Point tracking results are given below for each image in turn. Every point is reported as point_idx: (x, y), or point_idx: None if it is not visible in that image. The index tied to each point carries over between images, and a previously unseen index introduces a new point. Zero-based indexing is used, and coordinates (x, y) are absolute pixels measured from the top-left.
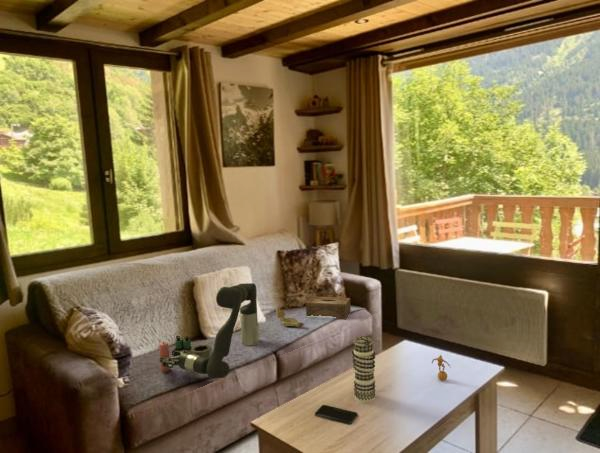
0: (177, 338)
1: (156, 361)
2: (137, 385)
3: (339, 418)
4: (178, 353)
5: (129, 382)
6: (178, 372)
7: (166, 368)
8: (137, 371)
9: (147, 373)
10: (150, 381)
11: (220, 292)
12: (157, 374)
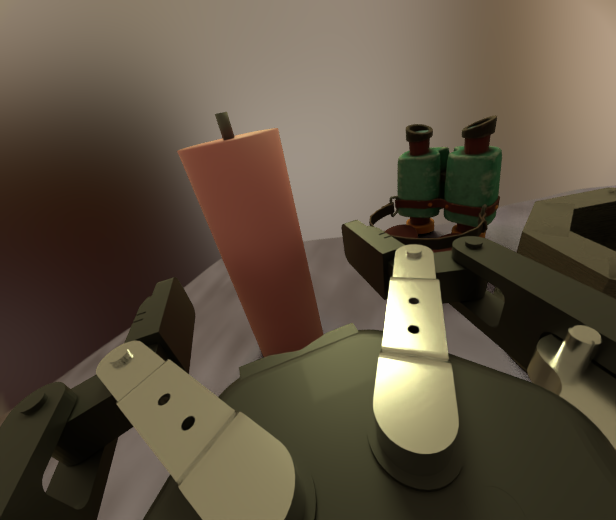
0: (413, 137)
1: (305, 246)
2: None
3: None
4: (378, 264)
5: (62, 377)
6: None
7: (278, 351)
8: (196, 288)
9: (201, 326)
10: None
11: None
12: (219, 371)
